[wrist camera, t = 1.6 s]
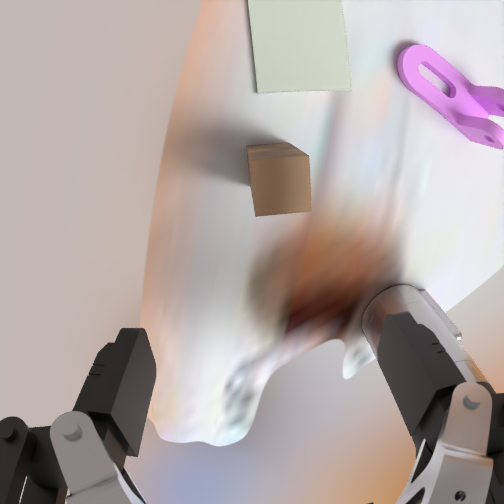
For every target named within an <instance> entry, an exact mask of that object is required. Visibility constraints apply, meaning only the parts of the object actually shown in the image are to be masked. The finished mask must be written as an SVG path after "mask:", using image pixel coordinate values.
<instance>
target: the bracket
mask: <svg viewBox="0 0 504 504" xmlns="http://www.w3.org/2000/svg"><path fill="white" fill-rule="evenodd" d="M419 63H422V64H423V65H424V66H426V67H427V68H428V69H429V70H431V71H432V72H433V73H434V74H436V75H437V76H438V77H439V78H440V79H442V80H443V81H444V82H445V83H446V84H447V85H448V86H449V88H450V95H449V96H448V97H447V96H446V95H445V94H444V93H442V92H441V91H440V90H439V89H438V88H436V87H435V86H434V85H433V84H432V83H430V82H429V81H428V80H426V79H425V78H424V77H423V76H422V75H421V74H420V73H419V70H418V65H419ZM397 68H398V73H399V76H400V78H401V80H402V82H403V84H404V85H405V86H406V87H407V88H408V89H409V90H410V91H412V92H413V93H414V94H416V95H417V96H418V97H420V98H421V99H422V100H424V101H425V102H426V103H427V104H429V105H430V106H431V107H432V108H434V109H435V110H436V111H437V112H439V113H440V114H441V115H442V116H443V117H445V118H446V119H447V120H448V121H449V122H450V123H452V124H453V125H454V126H455V127H456V128H457V129H458V130H460V131H461V132H462V133H463V134H464V135H465V136H466V137H467V138H468V139H469V140H470V141H473V142H476V143H480V144H484V145H487V146H491V147H494V148H498V149H503V148H504V129H503V128H501V127H500V126H499V125H498V124H496V123H494V122H493V121H491V120H489V119H488V116H489V114H490V115H496V116H502V117H504V90H503V89H501V88H498V87H487V86H475V85H473V84H471V83H470V82H469V81H468V80H467V79H466V78H465V77H464V76H463V75H462V74H461V73H460V72H459V71H457V70H456V69H455V68H454V67H453V66H452V65H451V64H450V63H448V62H447V61H446V60H445V59H444V58H443V57H441V56H440V55H439V54H438V53H437V52H435V51H434V50H433V49H431V48H430V47H428V46H425V45H413V46H410V47H407V48H405V49H404V50H403V51H402V52H401V53H400V55H399V57H398V61H397Z"/></svg>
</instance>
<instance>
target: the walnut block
mask: <svg viewBox="0 0 504 504" xmlns="http://www.w3.org/2000/svg"><path fill="white" fill-rule="evenodd" d="M247 155H248V165H249V175H250V185H251V192H252V198H253V204H254V210H255V216H256V217H257V216H267V215H277V214H287V213H298V212H309V211H311V185H310V164H309V156H308V155H307V154H305V153H304V152H302V151H301V150H299V149H298V148H296V147H295V146H293V145H292V144H290V143H278V144H265V145H254V146H247Z"/></svg>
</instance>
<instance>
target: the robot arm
mask: <svg viewBox="0 0 504 504" xmlns="http://www.w3.org/2000/svg"><path fill="white" fill-rule="evenodd" d="M362 329H363V332H364V334H365V336H366V338H367V341H368V343H369V344H370V346H371V348H372V350H373V353H374V355H375V357H376V359H377V361H378V363H379V365H380V368H381V370H382V372H383V374H384V376H385V378H386V381H387V383H388V385H389V387H390V390H391V392H392V394H393V396H394V399H395V400H396V403H397V405H398V407H399V410H400V412H401V415H402V417H403V419H404V422H405V424H406V426H407V429H408V431H409V433H410V436H412V439H413V441H414V444H415V447H416V462H415V464H414V467H413V470H412V472H411V475H410V477H409V480H408V482H407V485H406V487H405V489H404V491H403V493H402V494H401V495H400V497H399V498H398V500H397V502H396V503H395V504H504V393H498V394H496V392H495V391H494V389H493V388H492V386H491V385H490V384H489V382H488V381H487V379H486V378H485V376H484V375H483V373H482V372H481V371H480V369H479V368H478V367H477V365H476V364H475V362H474V361H473V360H472V358H471V357H470V355H469V354H468V353H467V351H466V350H465V348H464V347H463V346H462V344H461V343H460V341H461V338H462V334H461V332H460V331H459V330H458V328H457V327H456V326H455V325H454V323H453V322H452V321H451V320H450V319H449V317H448V316H447V315H446V314H445V312H444V311H443V310H442V309H441V307H440V306H439V305H438V304H437V303H436V302H435V300H434V299H433V298H432V297H431V296H430V295H429V293H428V292H427V291H426V290H424V291H419V290H418V289H416V288H415V287H413V286H410V285H398V286H394V287H391V288H388V289H387V290H385V291H383V292H381V293H380V294H379V295H378V296H376V297H375V298H374V299H373V300H372V301H371V302H370V304H369V305H368V307H367V308H366V310H365V312H364V314H363V318H362ZM155 380H156V363H155V359H154V356H153V353H152V350H151V347H150V343H149V340H148V337H147V333H146V331H145V329H144V328H122V329H121V330H120V332H119V334H118V336H117V338H116V341H115V343H108V344H107V345H105V346H104V347H103V348H102V349H101V350H100V351H99V352H98V354H97V356H96V358H95V361H94V363H93V366H92V367H91V369H90V372H89V376H87V378H86V380H85V383H84V385H83V387H82V390H81V392H80V394H79V397H78V399H77V401H76V404H75V406H74V408H73V410H72V411H71V412H67V413H64V414H62V415H60V416H59V417H58V418H57V419H56V420H55V421H54V422H53V424H52V426H45V427H33V428H28V426H27V425H26V424H25V422H24V421H23V420H22V419H20V418H18V417H7V418H5V419H3V420H1V421H0V504H19V500H20V496H21V492H22V489H23V485H24V482H25V478H26V476H27V480H26V484H25V487H24V491H23V495H22V499H21V502H20V504H65V499H66V501H67V504H148V503H147V501H146V500H145V498H144V497H143V495H142V494H141V492H140V490H139V489H138V487H137V486H136V484H135V483H134V481H133V479H132V478H131V476H130V474H129V472H128V471H127V469H126V467H125V466H124V463H125V458H126V456H134V457H138V454H139V449H140V444H141V440H142V435H143V430H144V426H145V422H146V417H147V413H148V409H149V404H150V400H151V396H152V392H153V388H154V384H155ZM68 488H69V491H70V495H69V496H67V497H66V495H67V490H68ZM369 504H373V503H369Z"/></svg>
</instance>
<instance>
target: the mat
mask: <svg viewBox="0 0 504 504" xmlns="http://www.w3.org/2000/svg"><path fill="white" fill-rule="evenodd" d="M248 8H249V17H250V26H251V35H252V44H253V53H254V63H255V72H256V82H257V92H258V93H270V92H288V91H352V84H351V72H350V62H349V52H348V44H347V35H346V28H345V20H344V14H343V7H342V1H341V0H248Z"/></svg>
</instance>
